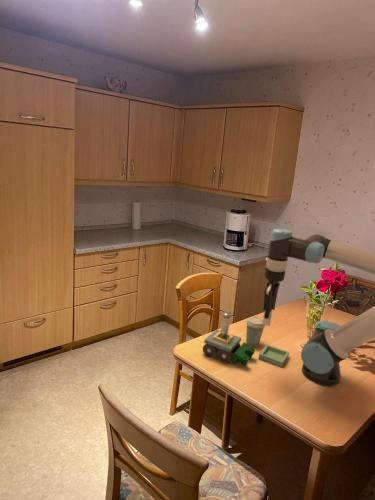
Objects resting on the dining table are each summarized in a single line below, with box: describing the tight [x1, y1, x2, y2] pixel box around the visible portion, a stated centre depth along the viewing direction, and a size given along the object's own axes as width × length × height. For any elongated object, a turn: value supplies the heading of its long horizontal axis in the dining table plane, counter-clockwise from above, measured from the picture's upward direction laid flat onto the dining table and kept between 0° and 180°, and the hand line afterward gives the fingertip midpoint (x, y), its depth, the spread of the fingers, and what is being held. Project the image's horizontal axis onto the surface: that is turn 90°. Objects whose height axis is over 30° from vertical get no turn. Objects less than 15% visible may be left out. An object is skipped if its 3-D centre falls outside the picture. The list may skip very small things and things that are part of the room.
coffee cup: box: [245, 316, 266, 348], centre depth 172 cm, size 8×8×12 cm
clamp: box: [229, 341, 256, 367], centre depth 158 cm, size 12×6×9 cm, turn 144°
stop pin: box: [220, 310, 233, 340], centre depth 158 cm, size 4×4×12 cm
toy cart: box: [202, 329, 242, 364], centre depth 161 cm, size 13×12×9 cm
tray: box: [258, 344, 290, 368], centre depth 163 cm, size 10×10×2 cm
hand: (266, 324), depth 149 cm, fingers closed
